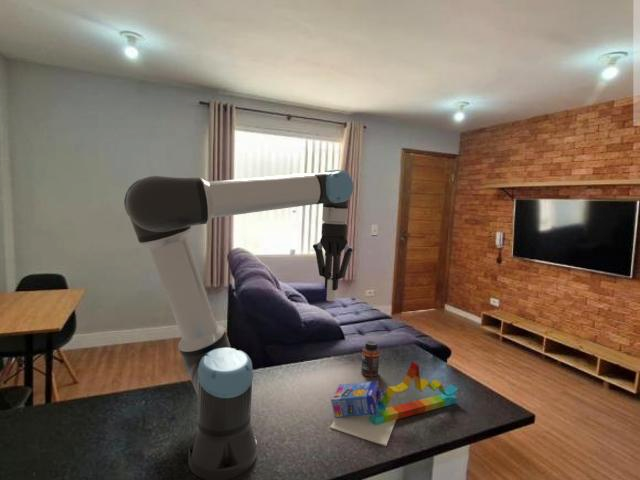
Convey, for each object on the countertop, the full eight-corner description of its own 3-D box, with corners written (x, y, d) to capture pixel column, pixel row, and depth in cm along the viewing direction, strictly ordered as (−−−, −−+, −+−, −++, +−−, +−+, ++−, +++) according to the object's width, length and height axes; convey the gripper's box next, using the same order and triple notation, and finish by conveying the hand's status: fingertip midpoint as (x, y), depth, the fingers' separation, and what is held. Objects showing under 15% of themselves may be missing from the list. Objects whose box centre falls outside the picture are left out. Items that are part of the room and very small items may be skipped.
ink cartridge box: (338, 382, 106) (385, 379, 102) (342, 400, 106) (389, 397, 102) (330, 399, 96) (382, 395, 92) (334, 418, 96) (386, 416, 92)
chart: (448, 397, 111) (454, 352, 109) (456, 403, 108) (463, 357, 106) (368, 417, 97) (374, 366, 95) (375, 425, 94) (381, 372, 92)
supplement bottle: (380, 372, 125) (382, 342, 124) (374, 379, 120) (376, 347, 119) (365, 367, 128) (367, 338, 127) (358, 374, 123) (360, 343, 122)
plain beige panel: (330, 427, 92) (330, 426, 92) (349, 398, 107) (349, 397, 107) (386, 446, 87) (386, 444, 87) (398, 412, 101) (398, 411, 101)
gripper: (359, 223, 105) (354, 300, 107) (320, 221, 111) (316, 294, 113) (350, 224, 98) (345, 306, 101) (309, 221, 104) (305, 299, 106)
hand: (330, 299), depth 107 cm, fingers closed
